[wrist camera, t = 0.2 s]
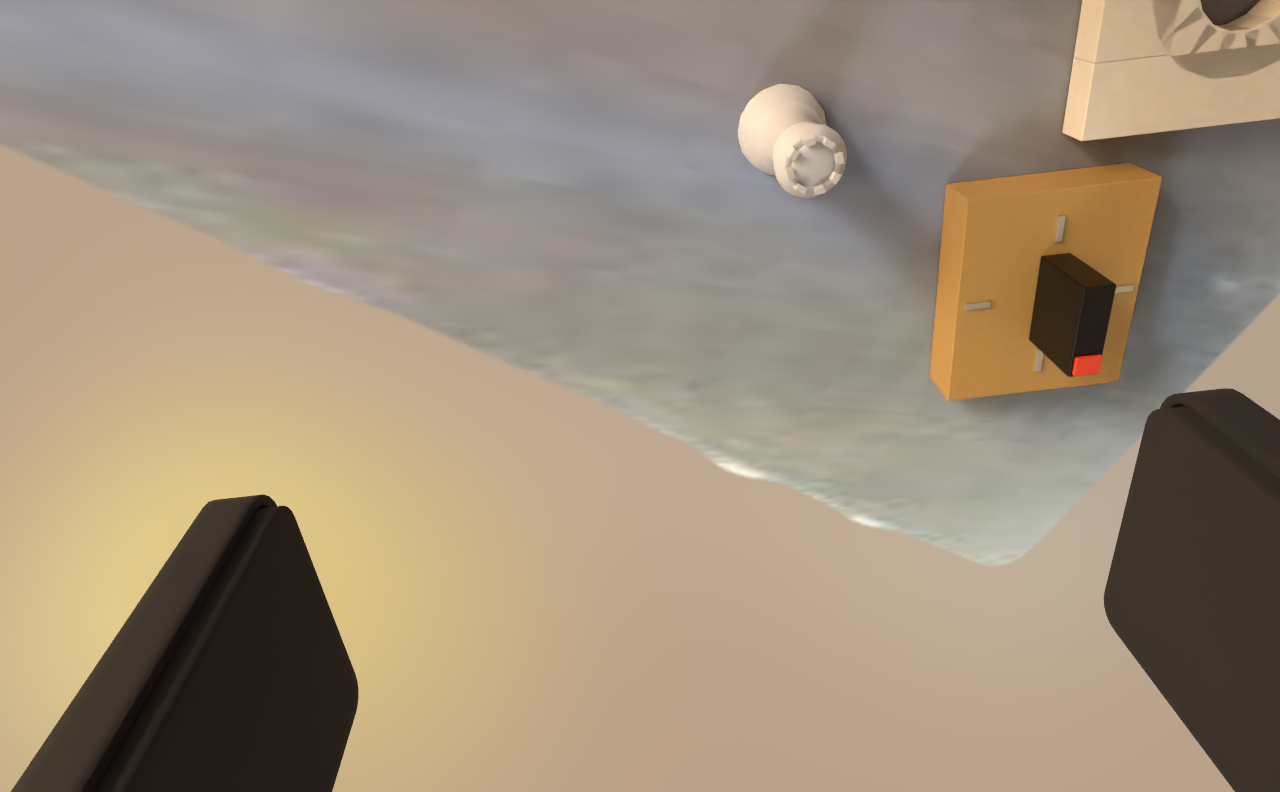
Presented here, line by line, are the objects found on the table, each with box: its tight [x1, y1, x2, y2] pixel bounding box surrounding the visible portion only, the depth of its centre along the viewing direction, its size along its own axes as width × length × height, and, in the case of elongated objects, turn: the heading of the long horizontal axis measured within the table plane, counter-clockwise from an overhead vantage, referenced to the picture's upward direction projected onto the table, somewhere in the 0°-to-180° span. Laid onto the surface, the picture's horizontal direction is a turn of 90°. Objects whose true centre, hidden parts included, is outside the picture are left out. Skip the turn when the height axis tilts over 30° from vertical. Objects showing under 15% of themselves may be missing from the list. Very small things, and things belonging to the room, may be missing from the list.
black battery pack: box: [1029, 253, 1116, 377], centre depth 43 cm, size 5×2×5 cm, turn 6°
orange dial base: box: [930, 163, 1162, 401], centre depth 46 cm, size 12×10×3 cm
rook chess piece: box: [738, 84, 847, 198], centre depth 39 cm, size 4×4×8 cm
